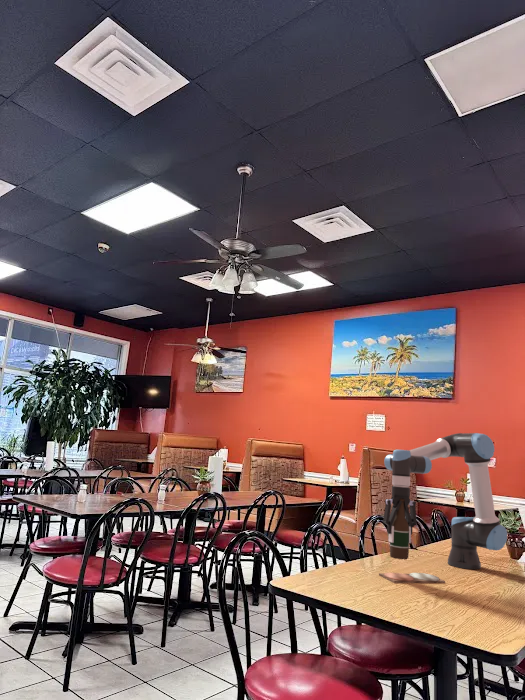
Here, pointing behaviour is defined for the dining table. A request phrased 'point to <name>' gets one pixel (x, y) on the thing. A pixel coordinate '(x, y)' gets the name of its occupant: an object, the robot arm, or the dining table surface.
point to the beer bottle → (400, 535)
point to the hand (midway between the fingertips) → (399, 542)
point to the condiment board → (411, 578)
